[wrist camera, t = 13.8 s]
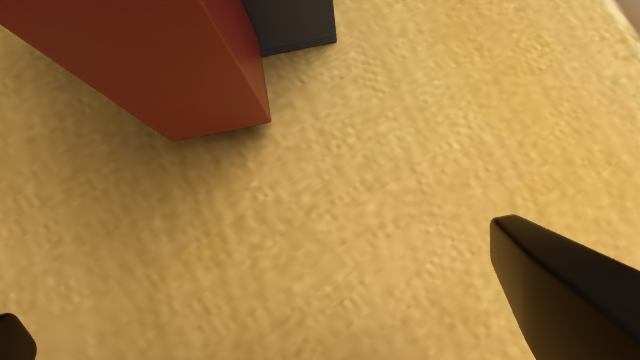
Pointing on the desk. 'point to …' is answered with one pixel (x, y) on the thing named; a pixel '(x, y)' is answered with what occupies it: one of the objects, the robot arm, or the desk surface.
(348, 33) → the desk surface
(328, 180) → the desk surface
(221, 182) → the desk surface
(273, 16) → the storage box
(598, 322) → the robot arm
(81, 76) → the red post with hook
